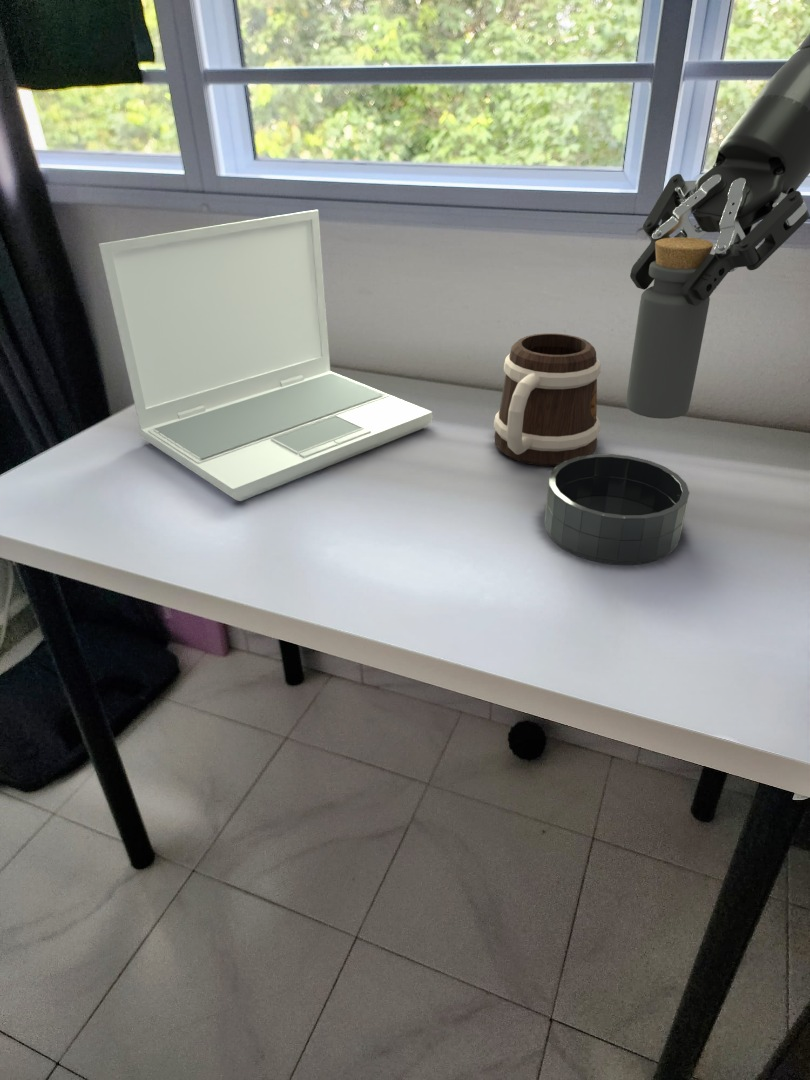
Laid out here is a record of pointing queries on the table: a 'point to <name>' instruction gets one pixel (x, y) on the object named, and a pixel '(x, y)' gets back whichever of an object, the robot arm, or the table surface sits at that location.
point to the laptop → (242, 354)
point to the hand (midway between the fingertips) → (662, 290)
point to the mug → (549, 400)
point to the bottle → (668, 333)
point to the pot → (615, 508)
